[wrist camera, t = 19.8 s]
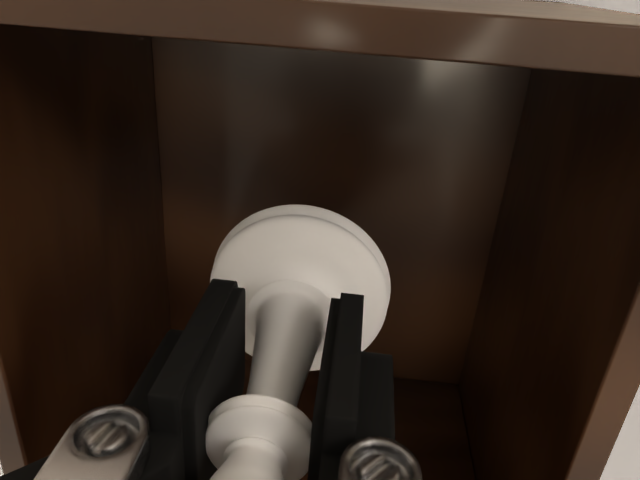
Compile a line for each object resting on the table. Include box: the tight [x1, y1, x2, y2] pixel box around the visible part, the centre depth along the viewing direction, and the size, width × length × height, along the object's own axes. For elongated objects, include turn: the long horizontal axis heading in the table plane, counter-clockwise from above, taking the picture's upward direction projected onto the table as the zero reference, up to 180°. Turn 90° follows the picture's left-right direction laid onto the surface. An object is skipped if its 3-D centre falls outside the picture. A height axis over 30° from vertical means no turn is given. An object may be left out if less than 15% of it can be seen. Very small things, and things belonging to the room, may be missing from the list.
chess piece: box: [206, 204, 391, 480], centre depth 11 cm, size 5×5×10 cm
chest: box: [0, 0, 640, 480], centre depth 18 cm, size 18×16×12 cm
